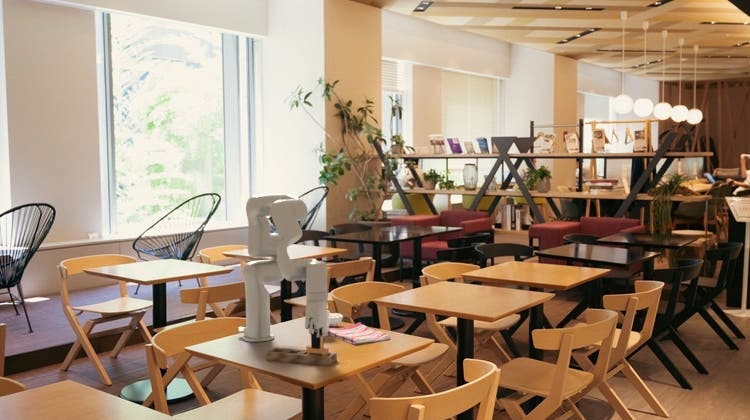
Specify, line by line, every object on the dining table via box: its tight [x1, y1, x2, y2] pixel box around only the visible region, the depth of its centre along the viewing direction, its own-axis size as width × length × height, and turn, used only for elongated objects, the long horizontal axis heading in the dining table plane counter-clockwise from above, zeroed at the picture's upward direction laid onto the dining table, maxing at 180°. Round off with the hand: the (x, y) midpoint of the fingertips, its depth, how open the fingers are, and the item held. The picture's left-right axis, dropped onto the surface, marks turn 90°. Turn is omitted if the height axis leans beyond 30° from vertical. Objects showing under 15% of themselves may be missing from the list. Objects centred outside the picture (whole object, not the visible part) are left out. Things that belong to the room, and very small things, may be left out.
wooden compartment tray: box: [266, 347, 338, 367], centre depth 260 cm, size 24×7×3 cm, turn 72°
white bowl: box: [329, 312, 344, 328], centre depth 313 cm, size 10×12×7 cm
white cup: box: [314, 309, 330, 338], centre depth 297 cm, size 8×8×10 cm
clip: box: [305, 335, 330, 356], centre depth 257 cm, size 8×2×9 cm, turn 72°
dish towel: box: [328, 322, 391, 346], centre depth 294 cm, size 17×23×4 cm
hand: (317, 346), depth 257 cm, fingers closed on clip, 2 cm apart
